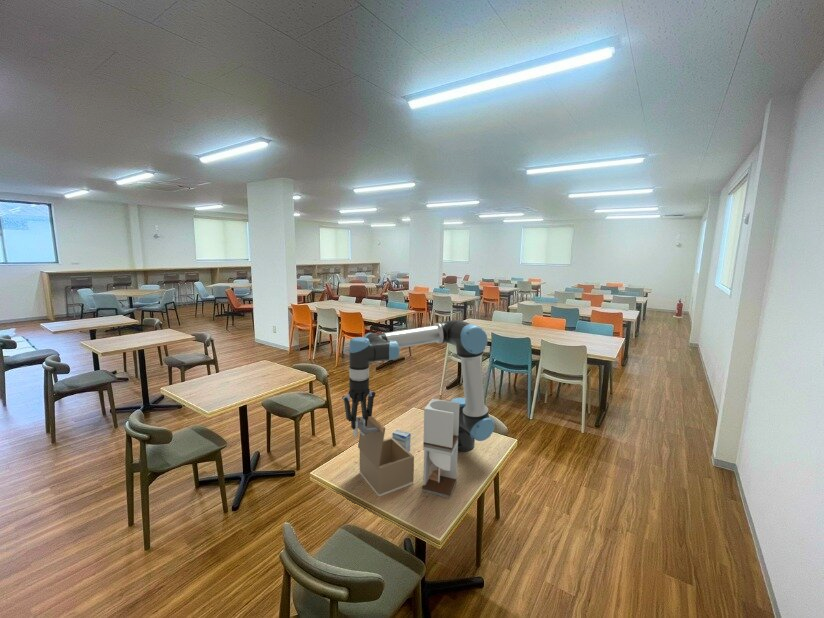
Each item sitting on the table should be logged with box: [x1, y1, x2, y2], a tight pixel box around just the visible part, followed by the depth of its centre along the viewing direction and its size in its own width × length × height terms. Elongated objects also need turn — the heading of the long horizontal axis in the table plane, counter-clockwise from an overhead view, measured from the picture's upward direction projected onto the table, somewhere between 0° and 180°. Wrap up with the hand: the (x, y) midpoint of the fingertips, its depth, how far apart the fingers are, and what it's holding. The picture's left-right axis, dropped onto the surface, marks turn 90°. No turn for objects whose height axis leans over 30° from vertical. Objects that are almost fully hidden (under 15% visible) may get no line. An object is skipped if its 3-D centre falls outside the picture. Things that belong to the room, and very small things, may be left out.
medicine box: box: [391, 429, 412, 452], centre depth 173 cm, size 8×4×9 cm, turn 62°
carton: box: [359, 437, 415, 498], centre depth 151 cm, size 16×18×12 cm
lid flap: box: [356, 415, 386, 469], centre depth 143 cm, size 16×18×8 cm
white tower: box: [421, 398, 460, 499], centre depth 144 cm, size 11×11×35 cm
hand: (359, 434), depth 142 cm, fingers closed on lid flap, 2 cm apart
